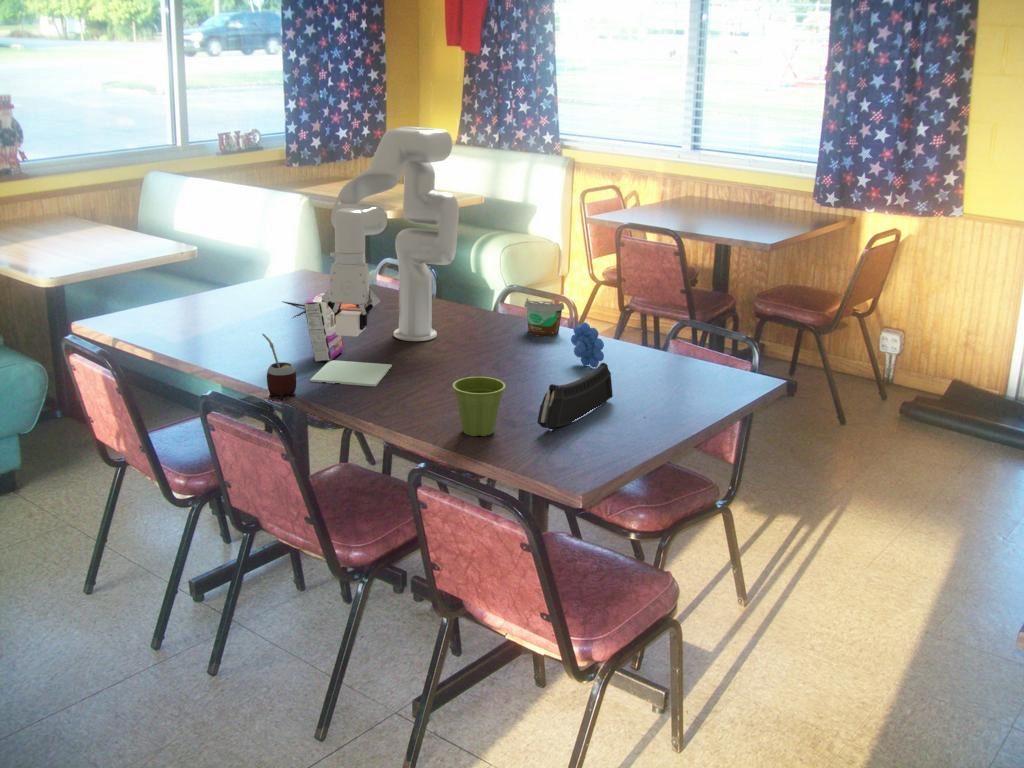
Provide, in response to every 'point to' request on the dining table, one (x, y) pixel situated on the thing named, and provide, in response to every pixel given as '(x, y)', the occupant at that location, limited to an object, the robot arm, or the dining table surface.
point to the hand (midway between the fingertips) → (351, 327)
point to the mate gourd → (280, 377)
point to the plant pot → (478, 404)
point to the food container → (543, 317)
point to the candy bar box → (322, 329)
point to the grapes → (587, 344)
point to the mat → (351, 373)
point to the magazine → (575, 398)
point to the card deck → (348, 322)
